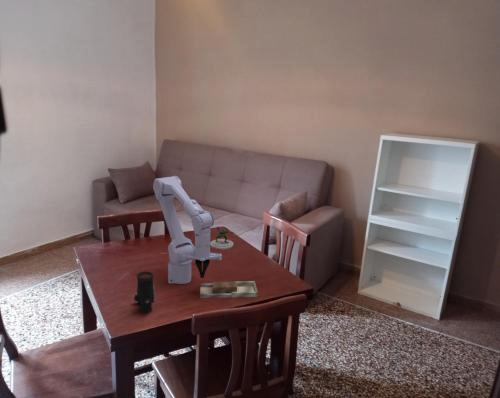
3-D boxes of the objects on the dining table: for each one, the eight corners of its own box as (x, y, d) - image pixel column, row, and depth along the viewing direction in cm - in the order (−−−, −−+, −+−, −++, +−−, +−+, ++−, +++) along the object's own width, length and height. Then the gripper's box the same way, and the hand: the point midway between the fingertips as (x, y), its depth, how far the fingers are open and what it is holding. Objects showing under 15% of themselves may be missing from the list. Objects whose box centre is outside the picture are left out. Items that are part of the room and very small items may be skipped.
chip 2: (225, 294, 150) (225, 287, 149) (224, 288, 155) (224, 281, 154) (236, 294, 151) (237, 287, 150) (235, 288, 155) (236, 281, 154)
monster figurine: (219, 251, 192) (220, 231, 189) (205, 243, 200) (205, 225, 197) (238, 245, 200) (238, 227, 197) (223, 238, 208) (224, 220, 205)
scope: (154, 265, 142) (159, 278, 133) (154, 299, 146) (160, 313, 137) (130, 268, 139) (134, 281, 130) (132, 303, 143) (136, 317, 134)
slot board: (200, 299, 147) (200, 293, 146) (200, 287, 156) (200, 281, 155) (257, 298, 150) (257, 292, 149) (254, 286, 159) (254, 281, 158)
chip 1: (212, 294, 150) (212, 287, 149) (212, 288, 154) (212, 281, 153) (224, 294, 150) (224, 287, 149) (223, 288, 155) (224, 281, 154)
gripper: (182, 248, 141) (182, 281, 145) (222, 248, 143) (221, 281, 147) (183, 240, 148) (183, 273, 152) (221, 240, 150) (220, 272, 153)
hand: (202, 276), depth 150 cm, fingers closed
